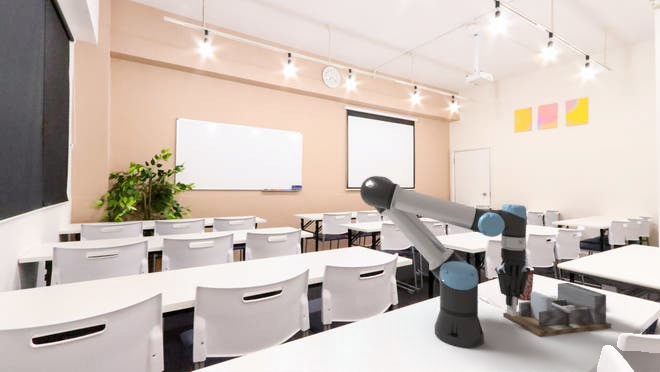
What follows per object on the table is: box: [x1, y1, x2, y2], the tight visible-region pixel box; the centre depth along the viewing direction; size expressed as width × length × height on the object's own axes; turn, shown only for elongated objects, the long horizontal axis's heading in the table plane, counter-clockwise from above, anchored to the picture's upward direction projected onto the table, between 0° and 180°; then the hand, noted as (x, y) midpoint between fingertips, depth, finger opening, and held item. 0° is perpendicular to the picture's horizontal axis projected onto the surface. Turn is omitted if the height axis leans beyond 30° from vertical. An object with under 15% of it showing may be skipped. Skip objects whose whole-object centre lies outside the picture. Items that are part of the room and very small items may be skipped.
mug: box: [518, 265, 535, 301], centre depth 139 cm, size 13×9×14 cm
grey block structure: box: [502, 282, 612, 338], centre depth 114 cm, size 30×16×12 cm, turn 102°
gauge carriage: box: [530, 291, 571, 326], centre depth 111 cm, size 8×11×9 cm
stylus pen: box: [478, 294, 507, 312], centre depth 132 cm, size 15×3×2 cm, turn 15°
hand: (511, 314), depth 111 cm, fingers closed
